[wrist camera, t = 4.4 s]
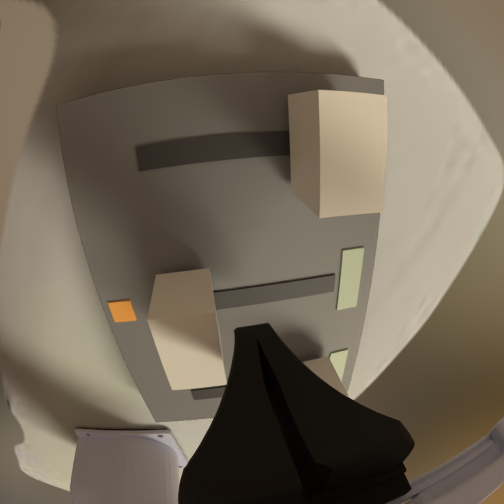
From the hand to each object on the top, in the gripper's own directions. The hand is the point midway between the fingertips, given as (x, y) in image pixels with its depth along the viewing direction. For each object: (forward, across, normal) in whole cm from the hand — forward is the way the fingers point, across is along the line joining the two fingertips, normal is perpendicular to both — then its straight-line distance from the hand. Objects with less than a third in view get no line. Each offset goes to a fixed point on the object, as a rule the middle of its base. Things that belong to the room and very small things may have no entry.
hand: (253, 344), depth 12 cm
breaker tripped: (+3, +3, 0) cm, 4 cm away
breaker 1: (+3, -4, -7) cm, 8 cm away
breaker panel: (+5, 0, 0) cm, 5 cm away
